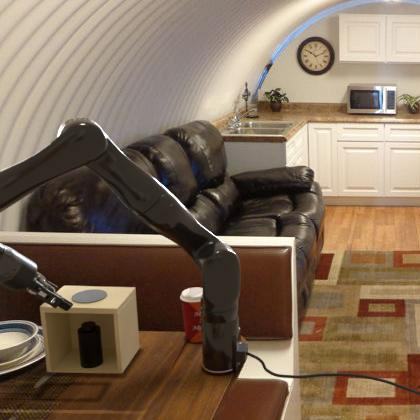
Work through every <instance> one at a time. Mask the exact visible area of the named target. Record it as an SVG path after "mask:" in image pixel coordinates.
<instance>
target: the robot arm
mask: <svg viewBox="0 0 420 420" xmlns="http://www.w3.org/2000/svg"><path fill="white" fill-rule="evenodd" d="M83 167H86V168H88V169H89V170H90V171H91V172H92V173H94V174H95V175H97V176H98V177H99V178H100V179H101V180H102V181H103V182H104V183H105V184H106V185H107V186H108V187H109V189H110V190H111V191H112V193H114V194H115V196H116V197H117V198H118V200H120V202H121V203H122V204H123V205H124V207H126V208H127V209H128V210H129V211H130V212H131V213H132V214H133V215H134V216H135V217H137V218H138V219H139V220H140V221H141V222H142V223H143V224H145V225H146V226H147V227H148V228H150V229H151V230H153V232H155V233H157V234H159V235H160V236H162V237H164V238H166V239H168V240H170V241H171V242H173V243H174V244H176V245H177V246H178V247H180V248H181V249H182V250H183V251H184V253H186V255H188V257H189V258H190V259H191V260H192V261H193V262H194V264H196V266H197V267H198V269H199V270H200V273H201V277H202V288H203V294H202V295H201V298H200V302H201V328H202V341H201V350H202V351H201V352H202V353H201V354H202V355H201V356H202V364H201V365H202V370H203V371H204V372H205V373H208V374H210V375H218V376H219V375H227V374H231V373H235V372H238V371H239V368H240V366H241V363H246V361H247V358H248V357H251V358H253V359H255V360H257V361H258V362H259V363H260V364H261V366H262V369H263V370H264V372H266V373H267V374H269V375H271V376H272V377H275V378H276V377H277V378H284V379H296V380H297V379H298V380H299V379H310V378H322V377H324V378H325V377H348V378H350V377H351V378H359V379H367V380H372V381H376V382H381V383H384V384H388V385H390V386H394V387H396V388H399V389H401V390H405V391H407V392H409V393H413V394H415V395H419V396H420V391H419V390H416V389H413V388H411V387H408V386H405V385H403V384H398V383H397V382H394V381H391V380H387V379H385V378H380V377H376V376H372V375H371V376H370V375H365V374H360V373H359V374H358V373H346V372H332V373H331V372H330V373H311V374H303V375H297V374H296V375H294V374H281V373H276V372H274V371H272V370H270V369H268V368H267V366H266V363H265V362H264V360H263V359H262V358H260V357H259V356H257V355H256V354H253V353H251V352H249V343H248V342H246V343H245V342H243V343H242V328H241V327H240V317H239V316H240V315H239V314H240V313H239V311H240V309H239V299H240V297H241V287H242V286H241V283H242V282H241V280H242V278H241V277H242V274H241V273H242V271H241V261H240V258H239V256H238V255H237V253H236V252H235V251H234V250H233V248H232V247H231V246H230V245H229V244H228V243H226V242H224V241H223V240H222V239H221V238H219V237H217V236H216V235H215V234H213V233H212V232H211V231H209V230H208V229H207V228H206V227H204V226H203V225H202V224H201V223H200V222H199V221H198V220H197V219H196V218H195V217H194V215H193V214H192V213H191V212H190V210H189V209H188V208H187V207H186V206H185V205H184V204H183V203H182V202H181V200H180V199H179V198H177V197H176V196H175V194H173V192H172V191H170V190H169V189H168V188H167V187H166V186H164V184H162V183H161V182H160V181H159V180H158V179H157V178H155V177H154V176H153V175H151V173H149V172H147V170H145V169H144V168H142V167H141V166H140V165H138V164H137V163H136V162H134V161H132V160H131V159H130V158H129V157H128V156H127V155H126V154H124V152H123V151H121V150H120V148H119V147H118V146H117V145H116V144H115V143H114V142H113V140H111V139H110V137H109V136H108V135H107V134H106V132H105V131H104V130H103V128H102V127H101V126H100V125H99V124H98V123H97V122H95V120H92V119H89V118H87V117H72V118H68V119H67V120H66V121H64V122H63V123H62V124H61V125H60V127H59V129H58V132H57V137H56V138H55V139H53V140H52V141H51V142H50V143H49V144H47V145H46V146H45V147H44V148H42V149H41V150H40V151H38V152H36V153H35V154H33V155H31V156H29V157H28V158H25V159H24V160H22V161H19V162H17V163H14V164H13V165H11V166H8V167H6V168H4V169H2V170H0V214H1V213H2V212H4V211H5V210H7V209H8V208H11V206H14V205H15V204H16V203H18V202H19V201H21V200H23V199H24V198H26V197H27V196H29V195H31V194H32V193H33V192H35V191H37V190H39V189H40V188H41V187H43V186H45V185H47V184H49V183H50V182H53V181H54V180H56V179H58V178H60V177H62V176H64V175H66V174H68V173H69V174H70V172H73V171H75V170H78V169H80V168H83ZM0 285H1V286H2V287H4V288H6V289H8V290H10V291H13V292H19V291H22V290H24V289H26V291H27V292H28V293H29V294H31V295H34V297H35V298H36V299H39V300H41V302H44V303H47V304H49V305H51V306H52V307H53V308H57V307H59V308H61V309H63V310H65V311H68V310H69V309H70V308H71V307H72V306H73V303H72V302H70V301H68V300H67V299H65V298H63V297H62V296H61V295H59V294H58V293H56V292H57V291H58V290H59V287H58V286H57V285H56V284H54V283H52V282H51V281H49V280H48V279H47V278H46V277H45V276H44V275H43V274H41V272H39V271H38V265H37V263H36V262H35V261H33V260H32V259H30V258H28V257H27V256H25V255H24V254H22V253H20V252H18V251H17V250H15V249H14V248H12V247H10V246H8V245H6V244H3V243H2V242H0ZM53 298H54V300H53V301H52V299H53Z"/></svg>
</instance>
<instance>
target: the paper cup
mask: <svg viewBox="0 0 420 420" xmlns="http://www.w3.org/2000/svg"><path fill="white" fill-rule="evenodd" d="M202 294H203V287H197V286H196V287H188V288H186V289H184V290H183V291H181V294H180V296H179V299H180V300H181V309H182V316H183V317H182V318H183V325H184V334H185V338H186V341H187V342H188V343H192V344H193V343H194V344H196V343H202V328H201V302H200V298H201V295H202Z"/></svg>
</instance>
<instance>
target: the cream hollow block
mask: <svg viewBox="0 0 420 420" xmlns="http://www.w3.org/2000/svg"><path fill="white" fill-rule="evenodd" d="M56 293H58V294H59V295H61V296H62V297H63V298H65V299H67V300H68V301H70V302H72V303H73V306H72V307H71V308H70V309H69V310H68V311H65V310H63V309H61V308H59V307H57V308H53V307H52V306H51V305H49V304H47V303H45V302H44V303H42V304H41V305H40V306H39V312H40V323H41V331H42V339H43V349H44V357H45V364H46V366H45V367H46V373H71V374H72V373H75V374H76V373H77V374H80V373H81V374H123V373H124V371H125V370H126V368H127V367H128V366H129V364H130V363H131V361H132V360H133V358H134V357H135V355H136V354H137V352H138V351H139V349H140V348H141V347H140V334H139V318H138V304H137V291H136V287H135V286H98V285H97V286H95V285H94V286H93V285H63V286H61V288H59V289H58V290H57V291H56ZM53 300H54V298H53V299H52V301H53ZM87 321H94V322H95V323H96V325H99V326H100V328H101V340H102V351H103V363H102V364H101V365H100V366H98V367H95V368H83V367H81V363H80V353H79V343H78V332H77V330H78V329H79V328H80V327H81V325H82V323H84V322H87Z"/></svg>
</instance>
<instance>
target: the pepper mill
mask: <svg viewBox="0 0 420 420" xmlns="http://www.w3.org/2000/svg"><path fill="white" fill-rule="evenodd" d="M77 332H78V343H79V353H80V363H81V367H83V368H95V367H98V366H100V365H101V364H102V363H103V351H102V340H101V328H100V326H99V325H96V323H95V322H94V321H87V322H84V323H82V325H81V327H80V328H79V329H78V330H77Z"/></svg>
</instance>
